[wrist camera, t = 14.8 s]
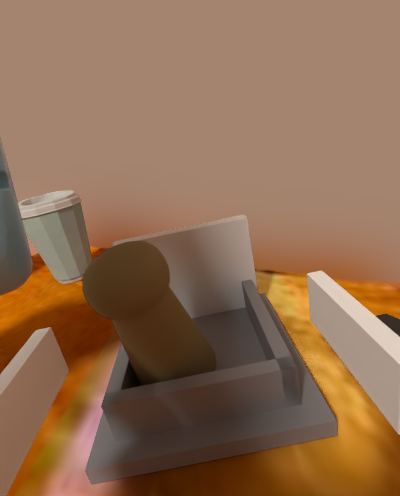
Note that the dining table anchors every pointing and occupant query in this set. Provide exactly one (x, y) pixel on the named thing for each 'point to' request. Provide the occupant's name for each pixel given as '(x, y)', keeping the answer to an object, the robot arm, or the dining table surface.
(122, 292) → the cork
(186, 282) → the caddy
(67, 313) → the dining table surface
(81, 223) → the disposable coffee cup
